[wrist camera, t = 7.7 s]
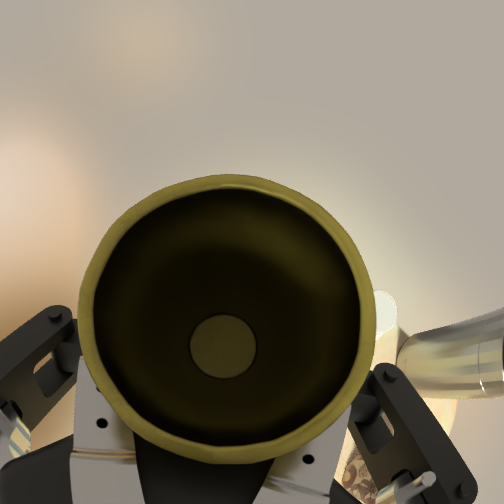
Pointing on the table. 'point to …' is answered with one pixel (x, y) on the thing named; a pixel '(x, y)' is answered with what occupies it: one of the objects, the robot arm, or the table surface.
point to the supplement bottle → (384, 312)
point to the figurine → (359, 481)
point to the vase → (227, 319)
